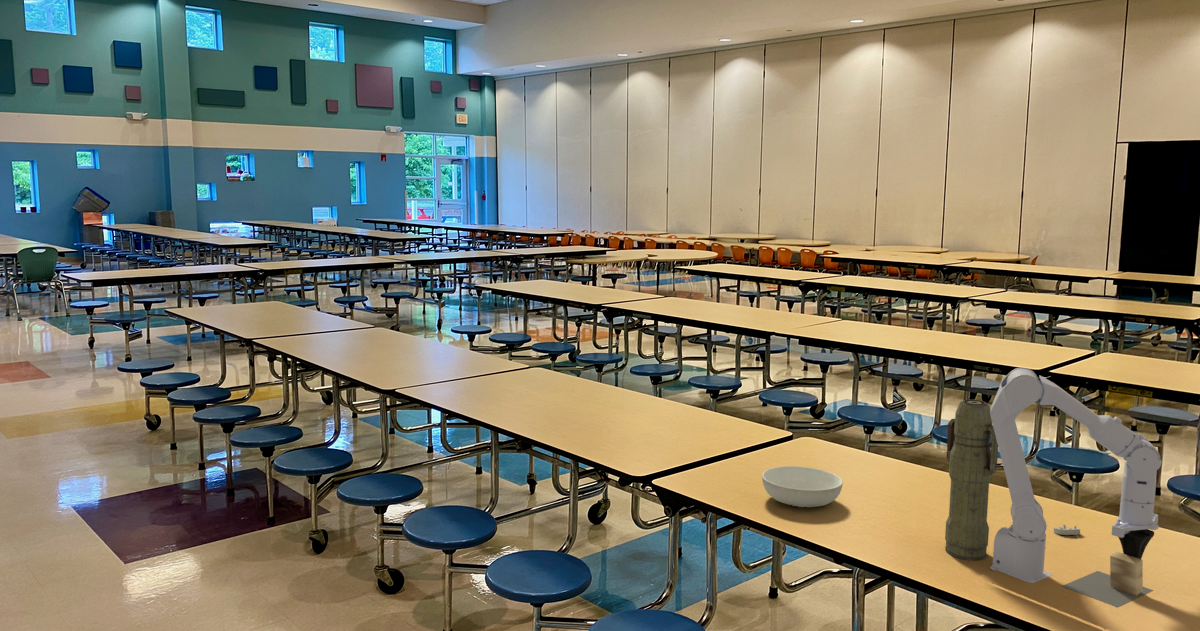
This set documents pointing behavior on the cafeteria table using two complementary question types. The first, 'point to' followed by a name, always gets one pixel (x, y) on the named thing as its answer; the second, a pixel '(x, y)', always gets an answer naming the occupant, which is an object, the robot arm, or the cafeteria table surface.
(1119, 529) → the robot arm
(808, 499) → the serving bowl
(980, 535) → the thermos
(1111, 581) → the green-faced wooden block
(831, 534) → the cafeteria table surface
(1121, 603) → the rubber mat
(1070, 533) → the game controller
